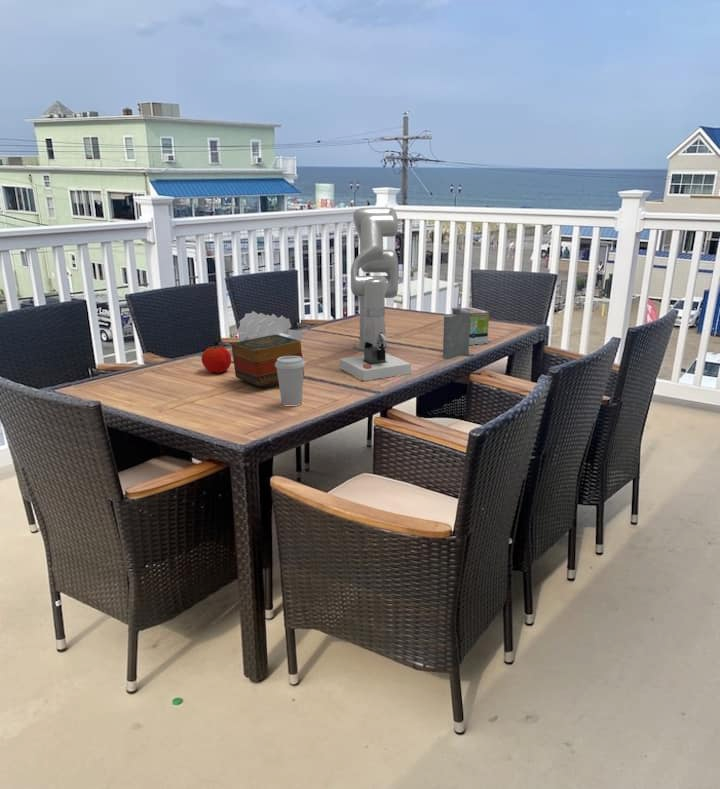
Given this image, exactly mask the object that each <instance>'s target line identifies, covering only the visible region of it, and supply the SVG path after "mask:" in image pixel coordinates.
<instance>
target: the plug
mask: <svg viewBox="0 0 720 789" xmlns="http://www.w3.org/2000/svg"><path fill="white" fill-rule="evenodd" d="M377 350H378V348H377V346H374V347H366V348H364V351H363V354H364V355H363V356H364V362H366V363H368V364H370V365H373V364H380V363H385V360H379V361H378V360H377Z"/></svg>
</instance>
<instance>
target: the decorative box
mask: <svg viewBox="0 0 720 789" xmlns="http://www.w3.org/2000/svg"><path fill="white" fill-rule="evenodd" d="M230 345H231V352H232V360H233V367H234V372H235V373H234V374H235V377H236V378H238V379H240V380H241V381H245V382H246V383H248V384H250V385H253V384H254V386H256V387H258V388H266V387H270V386H273V385H277V384H279V381H278V374H277V368H276V367H275V363H276V362H277V359H278V358H279V357H283V356H299V357H302V359H303V360H304V358H303V353H302V352H303V351H302V341H301V342H300V341H299V340H295V339H291V338H288V337H284V336H280V335H270V336H265V337H260V338H255V339H251V340H245V341H241V342H239V341H237V342H236V341H235V342H232V343H231V344H230ZM304 376H305V368H304V369H303V377H304Z"/></svg>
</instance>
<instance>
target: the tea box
mask: <svg viewBox="0 0 720 789" xmlns="http://www.w3.org/2000/svg"><path fill="white" fill-rule="evenodd" d="M460 308H461V310H460V312H461V311H462V312H464V311H468V312H470V330H469V346H476V345H475V344H478V345H485V344H484V343H486V344H488V340H489V339H488V338H489V324H490V323H489V322H490V321H489V319H490V312H489V311H488V310H483V309H479V308H475V307H470V306H469V307H460Z"/></svg>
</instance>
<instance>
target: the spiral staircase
mask: <svg viewBox="0 0 720 789" xmlns="http://www.w3.org/2000/svg"><path fill="white" fill-rule="evenodd" d="M238 323H239V324H240V325H239V327H238V329H237V331H236V333H237V334H238V342H241V341H245V340H251V339H255V338H260V337H265V336H270V335H280V336H284V337H288V338H291V339H295V340H299V341H300V342H301V343H302V337H303V333H304V332H303V331H300V330H296V329H291V328H292V324H291V321H290V318H286V317H285V316H283V314H282V315H280V317H278V316H277V315H276V314H274V313H272V315H269V314H264V313H262V312H260V313H258V312H256V311H254V310H252V312H250V313H245V314H244V317H243V318H242V319H240V320H239V321H238Z"/></svg>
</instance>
